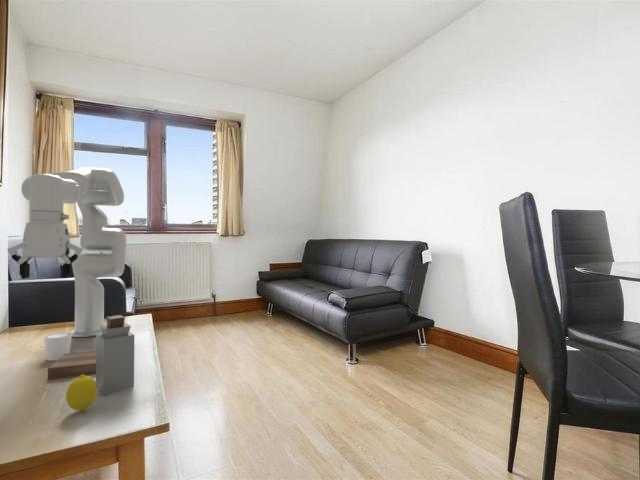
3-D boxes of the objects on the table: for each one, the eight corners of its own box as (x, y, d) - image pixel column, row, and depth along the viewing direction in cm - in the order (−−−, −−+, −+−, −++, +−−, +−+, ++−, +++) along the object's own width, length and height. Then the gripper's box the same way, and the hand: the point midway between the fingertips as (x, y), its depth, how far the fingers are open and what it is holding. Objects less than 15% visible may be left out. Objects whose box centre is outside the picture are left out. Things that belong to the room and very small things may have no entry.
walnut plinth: (64, 363, 100) (64, 353, 100) (110, 359, 104) (110, 349, 104) (47, 379, 89) (47, 368, 89) (99, 373, 93) (99, 363, 93)
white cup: (56, 362, 101) (56, 339, 101) (38, 360, 103) (38, 337, 103) (77, 354, 108) (77, 333, 108) (59, 352, 109) (59, 331, 109)
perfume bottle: (95, 387, 84) (96, 317, 84) (125, 379, 89) (125, 312, 89) (103, 396, 80) (104, 321, 80) (133, 387, 85) (134, 317, 85)
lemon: (76, 405, 75) (76, 370, 75) (102, 404, 76) (102, 369, 76) (59, 418, 70) (60, 380, 70) (87, 417, 70) (87, 379, 70)
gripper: (86, 219, 102) (86, 275, 102) (15, 217, 96) (15, 277, 96) (78, 218, 95) (77, 278, 95) (1, 216, 89) (0, 280, 89)
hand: (46, 277), depth 95 cm, fingers open, 9 cm apart
